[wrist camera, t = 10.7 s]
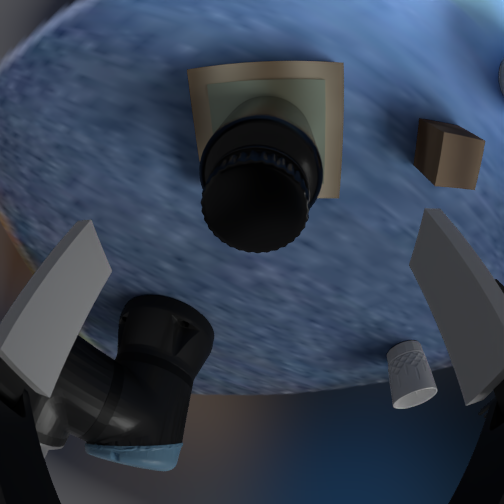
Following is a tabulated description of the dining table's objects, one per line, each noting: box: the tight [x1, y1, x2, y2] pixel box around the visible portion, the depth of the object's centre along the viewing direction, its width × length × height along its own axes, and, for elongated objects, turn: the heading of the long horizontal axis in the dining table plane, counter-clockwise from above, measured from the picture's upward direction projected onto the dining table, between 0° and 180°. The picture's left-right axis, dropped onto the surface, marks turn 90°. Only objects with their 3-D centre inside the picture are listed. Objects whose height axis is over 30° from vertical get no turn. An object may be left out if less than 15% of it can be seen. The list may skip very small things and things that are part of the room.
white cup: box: [387, 340, 437, 409], centre depth 41 cm, size 8×8×10 cm
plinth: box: [187, 61, 344, 198], centre depth 23 cm, size 12×12×3 cm
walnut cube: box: [413, 118, 485, 190], centre depth 21 cm, size 5×5×5 cm
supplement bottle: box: [199, 96, 323, 253], centre depth 17 cm, size 7×7×12 cm
